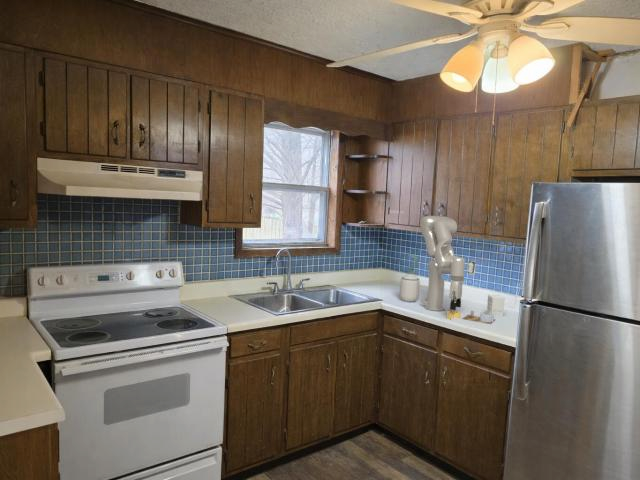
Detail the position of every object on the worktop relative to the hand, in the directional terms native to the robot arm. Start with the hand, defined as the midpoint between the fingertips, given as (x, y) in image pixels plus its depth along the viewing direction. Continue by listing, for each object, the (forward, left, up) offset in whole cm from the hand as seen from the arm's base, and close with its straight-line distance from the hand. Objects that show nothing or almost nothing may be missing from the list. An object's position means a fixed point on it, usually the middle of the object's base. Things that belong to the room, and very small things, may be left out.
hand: (455, 308), depth 269 cm
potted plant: (-39, +28, -7) cm, 48 cm away
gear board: (+12, +6, -7) cm, 15 cm away
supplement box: (+17, +24, -7) cm, 30 cm away
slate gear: (+16, +6, -5) cm, 18 cm away
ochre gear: (-1, +1, -7) cm, 7 cm away
